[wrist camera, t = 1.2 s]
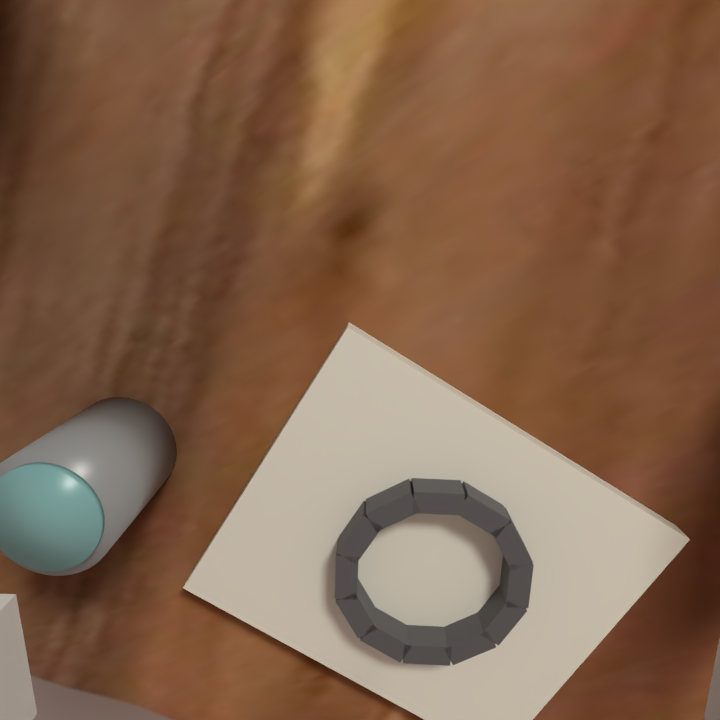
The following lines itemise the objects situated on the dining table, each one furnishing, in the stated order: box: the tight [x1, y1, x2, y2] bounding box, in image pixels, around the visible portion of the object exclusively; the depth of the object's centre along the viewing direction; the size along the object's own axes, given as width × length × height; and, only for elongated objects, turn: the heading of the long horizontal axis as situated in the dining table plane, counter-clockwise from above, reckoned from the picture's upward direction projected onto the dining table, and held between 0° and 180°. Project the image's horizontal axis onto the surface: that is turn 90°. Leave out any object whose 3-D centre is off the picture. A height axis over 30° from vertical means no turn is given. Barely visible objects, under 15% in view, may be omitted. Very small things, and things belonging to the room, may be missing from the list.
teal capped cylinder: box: [0, 397, 177, 576], centre depth 28 cm, size 6×6×8 cm
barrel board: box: [183, 322, 690, 720], centre depth 31 cm, size 22×18×3 cm
